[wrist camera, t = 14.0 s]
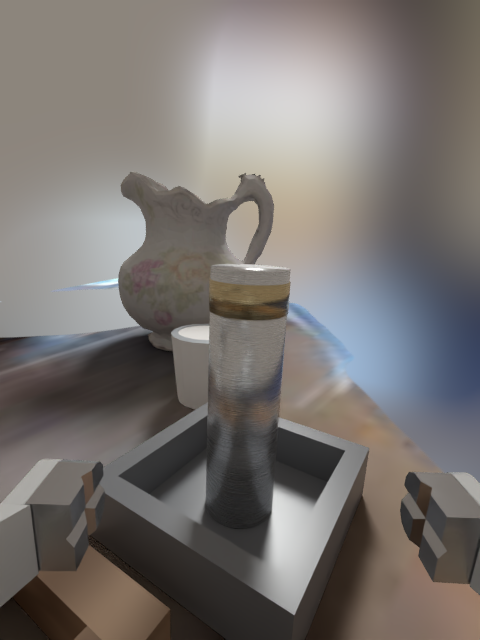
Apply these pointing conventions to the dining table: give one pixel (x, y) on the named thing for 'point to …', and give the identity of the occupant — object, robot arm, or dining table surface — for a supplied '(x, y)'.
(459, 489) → the robot arm
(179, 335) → the shot glass
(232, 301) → the steel pin
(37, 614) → the socket block
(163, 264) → the ceramic pitcher
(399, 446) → the dining table surface
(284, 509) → the tray
